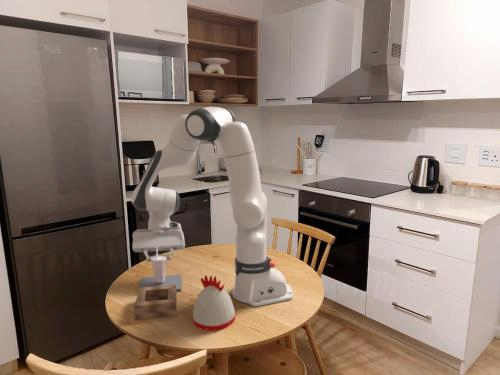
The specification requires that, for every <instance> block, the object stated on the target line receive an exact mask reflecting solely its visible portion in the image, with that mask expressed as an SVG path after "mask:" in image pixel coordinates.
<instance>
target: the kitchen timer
mask: <svg viewBox="0 0 500 375" xmlns="http://www.w3.org/2000/svg"><path fill="white" fill-rule="evenodd" d="M200 281H201V284H202V286H203V289H202V290H201V291H200V292H199V294H197V297H196V300H195V302H194V305H193V309H192V323H193V324H194V326H195V327H197V328H198V329H200V330H203V331H210V332H211V331H212V332H213V331H220V330H221V331H222V330H225V329H227V328H228V327H230V326H231V325H233V324H234V322H235V320H236V310H235V307H234V304H233V300H232V298H231V296H230V295H229V294H230V293H228V291H226V289H225V288H224V287H225V283H224V284H222V286H220V284H221V280H217V276H216V275H215V276H214V277H213V276H212V275H210V276H209V278H208V276H207V275H204V278H203V277H201V278H200Z"/></svg>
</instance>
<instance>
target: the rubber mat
mask: <svg viewBox="0 0 500 375" xmlns="http://www.w3.org/2000/svg"><path fill="white" fill-rule="evenodd" d="M139 281H140V282H139V285H138V288H137V294H136V295H138V291H139V288H143V287H155V286H167V285H176V292H182V273H181V274H170V275H166V274H165V281H164V282H161V283H157V282H155V277H154V275H153V276H145V277H144V276H142V277H141V278H140V280H139Z"/></svg>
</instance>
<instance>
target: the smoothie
mask: <svg viewBox="0 0 500 375" xmlns="http://www.w3.org/2000/svg"><path fill="white" fill-rule="evenodd" d="M155 252H156V253H155V254H154V255H152V256H151V258H150V259H151V260H150V261H149V262H151V266H152V270H153V276H154V277H155V282H157V283H161V282H164V281H165V276H166V269H167V261H168V260H167V255H166V254H159V253H158V252H159V251H158V247H156V251H155Z"/></svg>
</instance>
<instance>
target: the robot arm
mask: <svg viewBox="0 0 500 375" xmlns="http://www.w3.org/2000/svg"><path fill="white" fill-rule="evenodd" d="M236 118H237V117H236V115H235V113H234V111H232V110H231V109H229V108H228V107H224V106H206V107H202V108H201V107H200V108H196V109H193V110H191V112H189V113H188V114H183V115H180V116H179V117H178V118H177V120H176V122H175V124H174V126H173V127H172V128H173V129H172V131H171V133H170V136H169V138H168V142H167V144H166V145H165V146H164V147H162V149H160V150H157V151H155V153H154V154H153V156H152V157H151V160H150V161H149V163H148V165H147V166H146V169H145V171H144V173H143V175H142V177H141V178H140V180H139V182H138V184H137V185H136V187H135V188H134V190H133V193H132V196H131V204H132V206H133V207H134V208H135V209H136V210H137V211H144V212H147V211H148V215H149V219H148V223H147V227H148V228H142V229H141V228H137V229H136V230H135V231H133V233H132V235H131V236H132V244H131V245H132V251H133V252H134V253H143V254H144V255H145V258H146V262H148V263H149V262H151V261H150V260H151V259H150V258H151V257H152V256H151V255H149V252H156V247H158V252H159V251H170V252H169V254H167V255H166V256H167V260H166V261H171V260H172V256H173V255H174V252H175V251H177V250H178V251H179V250H184V249H185V247H186V242H185V235H184V232H183V230H182V226H181V223H179V222H176V221H175V222H174V221H171V218H170V217H171V216H173V215H174V214H175V213H176V212H178V211H179V209H180V205H181V197H180V195H179V193H178V191H177V190H174V189H170V188H165V187H164V188H163V187H157V186H156V187H155V186H152V185H154V182H155V181H156V178H157V176H158V175H159V173H161V172H162V171H164V170H168V169H173V168H181V167H184V166H187V165H189V164H190V163H192V162H193V161H194V159H195V157H196V155H197V152H198V149H199V147H200V144H201V141H203V142H208V143H209V142H210V143H213V142H215V141H216V142H218V143H219V145H220V146H221V149H222V155H223V159H224V164H225V169H226V172H227V177H228V183H229V194H230V204H231V208H232V217H233V221H234V222H235V224H236V233H235V234H236V235H235V258H234V273H235V279H234V285H233V289H232V297H233V298H234V299H235V300H236V301H238V302H240V303H245V304H248V305H250V306H252V307H260V306H266V305H270V304H275V303H279V302H284V301H290V300H292V299H293V298H294V290H293V289H292V287H291V285H290V284H288V282H287V280H286V278H285V275H284V274H283V273H282V272H281V271H280V270H278V269H276V268H275V266H276V263H275V261H274V260H272V259H271V258H270V256H268V255H267V228H268V199H267V196H266V194H265V193H264V191H263V190H262V183H261V175H260V168H259V164H258V158H257V153H256V149H255V145H254V142H253V141H254V140H253V137H252V135H251V133H250V130H249V128H248V126H247V124H246V123H244V122H242V121H237V119H236Z"/></svg>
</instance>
